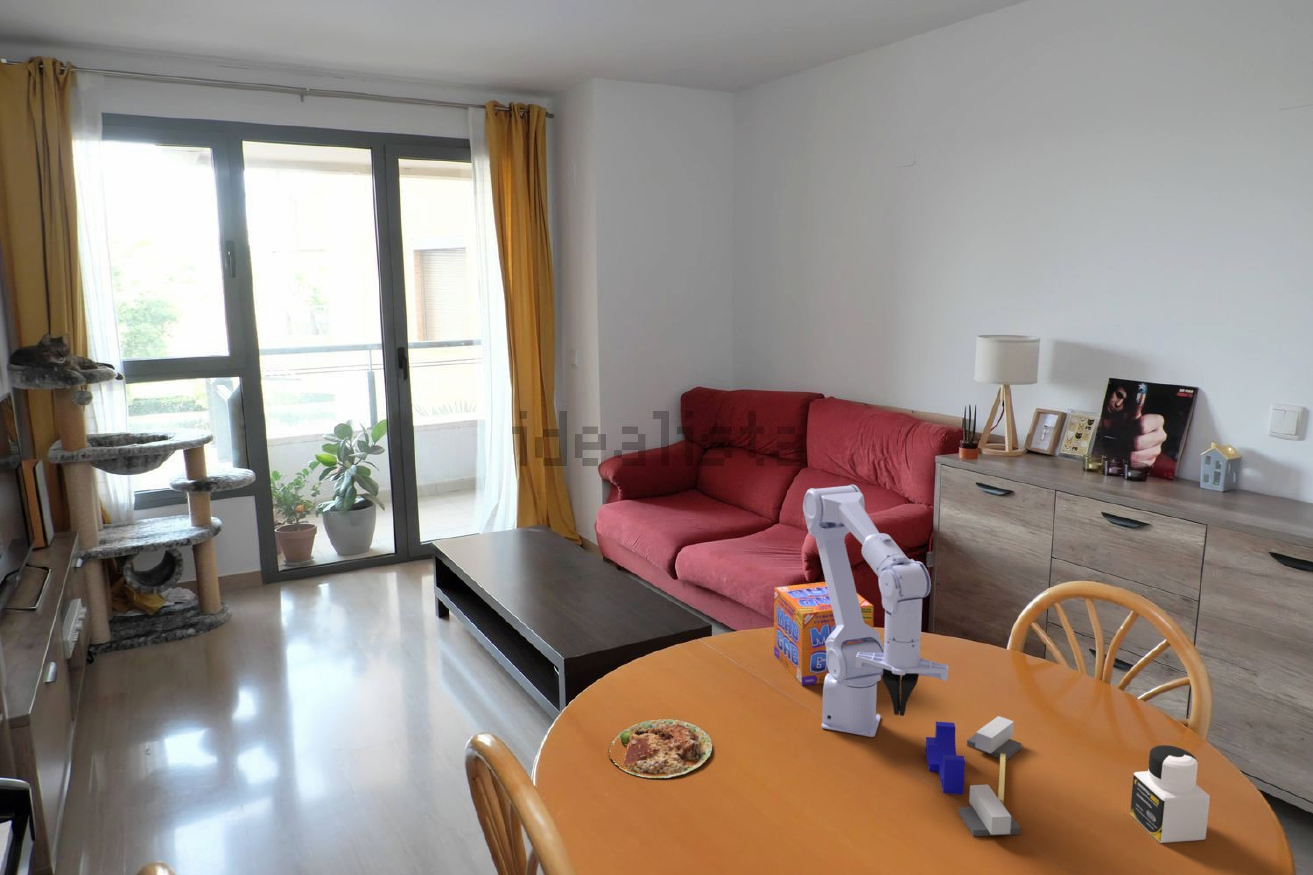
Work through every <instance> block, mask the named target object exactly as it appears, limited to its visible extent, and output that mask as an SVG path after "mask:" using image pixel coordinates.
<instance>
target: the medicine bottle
mask: <svg viewBox="0 0 1313 875" xmlns="http://www.w3.org/2000/svg"><path fill="white" fill-rule="evenodd" d="M1148 755H1149V757H1148V758H1149V759H1148V766H1147V767H1148V768H1147V770H1145V771H1136V772H1133V777H1132V788H1131V797H1130V798H1131V799H1130V812H1129V814H1130V815H1131V816H1132V817H1133V819H1135V821H1137V823H1139V824H1140V825H1141V826H1142V827H1143V829H1145V830H1146V831H1147V832H1148V833H1149V834H1150V835H1151V836H1152V837H1153V838H1154V839H1155V840H1156V841H1158V843H1160V844H1165V843H1166V844H1167V843H1180V842H1192V841H1193V842H1194V841H1203V840H1206V837H1207V829H1208V828H1207V827H1208V820H1209V811H1210V800H1211V796H1210V795H1209V794H1208V793H1207V792H1206V791H1205V790H1203V789H1202V788H1201V787H1199V785H1198V784H1197V776H1198V767H1199V766H1198V765H1199V761H1198V760H1197V758H1196V757H1195V756H1194V754H1192V753H1191V752H1189V751H1188V750H1186V749H1183V748H1180V747H1178V746H1174V745H1169V744H1168V745H1165V744H1163V745H1162V744H1161V745H1155V746H1154V747H1152V748H1151V749H1150V750H1149V754H1148Z"/></svg>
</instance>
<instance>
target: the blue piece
mask: <svg viewBox="0 0 1313 875" xmlns="http://www.w3.org/2000/svg"><path fill="white" fill-rule="evenodd" d="M934 734H935V735H934V736H935V737H933V736H925V749H924V750H925V751H924V752H926V753H925V757H926V761H927V767H928V771H929V772H934V773H936V772H937V773H938V775H939V780H940V784H941V785H940V786H941V789H942V793H943V794H950V795H962V796H963V795H964V786H965V785H964V783H965V782H964V781H965V764H966V760H965V756H964V755H958V754H957V749H956V746H957V745H956V724H955V722H950V721H949V722H948V721H947V722H946V721H937V720H936V721H935V732H934Z"/></svg>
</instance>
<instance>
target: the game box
mask: <svg viewBox="0 0 1313 875" xmlns="http://www.w3.org/2000/svg"><path fill="white" fill-rule="evenodd" d="M773 593H774V594H773V597H774V598H773V599H774V600H773V612H774V613H773V621H774V622H773V654H774V656H775V657H776V658H777V659H778V660H779V662H780V663H782V665H783V666H784V667H785V668H786V669H787V670H788V672H789V673H790V674H791V675H792V676H793V677H794V678H795V681H797V682H798V683H799V684H800V685H801V686H809V685H818V684H824V681H825V677H826V675H827V674H828V673H829V670H828V667H827V662H826V655H827V654H826V646H825V641H826V640H827V638H828V637H829V635H830V634H831V633H832V632H833V631H834V629H835V628H836V624H835V619H834V615H833V611H832V606H831V602H830V598H829V593H828V589H827V585H826V581H821V582H820V581H819V582H813V583H802V584H794V585H793V584H792V585H785V586H776V587H775V586H774V591H773ZM857 596H858V600H859V604H860V608H861V612H862V617H863V621H864V623H865V624H867V625H869V626H870V627H872V628H873V629H874V617H875V614H874V612H875V611H874V610H875V609H874V605H873V604H872V603H871V602H869V601H868V600H867V599H865V598H864V597H862V595H860V594H859V593H857ZM858 642H863V641H851V642H845V643H842V644H841V645H845V644H852V643H858Z"/></svg>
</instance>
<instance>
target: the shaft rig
mask: <svg viewBox="0 0 1313 875" xmlns="http://www.w3.org/2000/svg"><path fill="white" fill-rule="evenodd" d="M1014 724H1015V721H1014V720H1011V719H1008V718H1005V717H1002V716H1000V715H997V716H996V717H995V718H994V719H992V720H991V721H989V722H988V723H986V724H985V725H983V727H981V728H980V729H978V730H977V731H976V732H975V734H974V735H972V736H971V737H969V738H968V739H967V740H966V741H967V743H966V746H968V745H969V746H968V747H970V746H971V747H970V748H972V747H973V749H974V750H978V751H980V752H983V753H985V752H986V753H985V754H987V753H988V754H987V755H990V756H992V757H995V758H998V759H999V777H998V794H997V795H996V793H995V792H994V791H993V789H992V788H991V787H990V785H989V784H973V785H972V784H971V785H970V786H969V801H968V802H969V804H970V805H971V806H959V807H958V814H959V816H960V818H961V819H962V822H963V823H964V824H965V826H966V827H967V829H968V830H969V832H970V834H971V835H972V836H973V837H984V836H985V837H986V836H989V837H990V836H1006V835H1007V836H1009V835H1010V836H1011V835H1012V836H1013V835H1021V826H1020V825H1019V824H1018V822H1017V821H1016V820H1015V818H1014V817H1013V816H1012V814H1011V812H1010V811H1009V810H1008V809H1007V807H1006V806H1005V804H1004V799H1005V781H1006V780H1005V779H1006V778H1005V777H1006V762H1007V761H1008V760H1009V759H1011V758H1012V757H1013V756H1014V755H1015V754H1017V753H1018V752H1019V751H1020V750H1022V743H1021V742H1019V741H1016V740H1013V739H1012V738H1013V737H1014V727H1015V726H1014ZM1016 752H1017V753H1016Z"/></svg>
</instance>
